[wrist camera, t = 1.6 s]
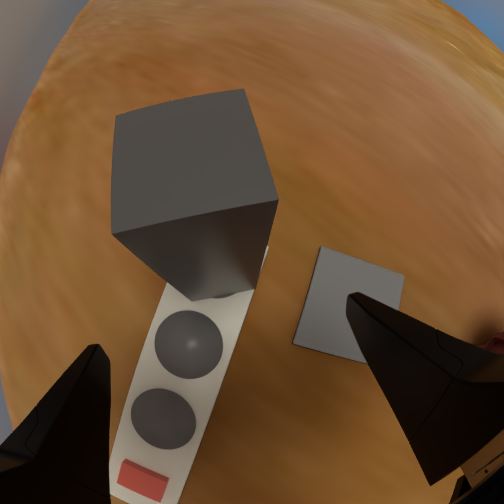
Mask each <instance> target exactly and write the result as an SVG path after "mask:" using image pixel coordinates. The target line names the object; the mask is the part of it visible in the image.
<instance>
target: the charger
mask: <svg viewBox="0 0 504 504" xmlns="http://www.w3.org/2000/svg"><path fill="white" fill-rule="evenodd" d="M278 201H279V198H278V195H277V192H276V188H275V185H274V182H273V178H272V175H271V172H270V168H269V165H268V162H267V158H266V155H265V152H264V149H263V146H262V142H261V139H260V136H259V133H258V130H257V127H256V124H255V121H254V118H253V115H252V111H251V108H250V105H249V102H248V99H247V97H246V94H245V91H244V89H238V90H230V91H223V92H217V93H210V94H204V95H199V96H193V97H188V98H183V99H179V100H174V101H169V102H165V103H161V104H157V105H153V106H149V107H145V108H141V109H137V110H134V111H130V112H127V113H123V114H120V115H117V116H116V120H115V130H114V141H113V156H112V177H111V232H112V235H113V236H114V237H115V238H116V239H118V240H119V241H120V242H121V243H122V244H123V245H124V246H125V247H127V248H128V249H129V250H130V251H131V252H132V253H133V254H135V255H136V256H137V257H138V258H139V259H140V260H141V261H143V262H144V263H145V264H146V265H147V266H149V267H150V268H151V269H152V270H153V271H154V272H156V273H157V274H158V275H159V276H160V277H162V278H163V279H164V280H165V281H167V282H168V283H169V284H170V285H171V286H173V287H174V288H175V289H176V290H178V291H179V292H180V293H181V294H183V295H184V296H185V297H186V298H188V299H189V300H190V301H198V300H203V299H208V298H213V297H218V296H223V295H228V294H233V293H238V292H243V291H248V290H252V289H256V286H257V282H258V278H259V274H260V271H261V267H262V263H263V259H264V255H265V251H266V248H267V244H268V240H269V236H270V232H271V228H272V224H273V221H274V217H275V213H276V209H277V205H278Z"/></svg>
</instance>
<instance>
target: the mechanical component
mask: <svg viewBox="0 0 504 504" xmlns="http://www.w3.org/2000/svg"><path fill="white" fill-rule="evenodd" d="M478 347H480V348H483V349H486V350H488V351H491V352H494V353H499V354H504V332H502V333H497V334H495V335H493V336H492V337H491V338H490V339H489V341H488V342H487V343H486V344H484V345H478Z"/></svg>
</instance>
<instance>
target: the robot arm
mask: <svg viewBox="0 0 504 504" xmlns="http://www.w3.org/2000/svg"><path fill="white" fill-rule="evenodd" d="M346 317H347V320H348V322H349V324H350V327H351V329H352V332H353V334H354V336H355V339H356V341H357V343H358V346H359V348H360V350H361V352H362V354H363V356H364V358H365V360H366V362H367V363H368V365H369V367H370V369H371V371H372V373H373V374H374V376H375V378H376V380H377V382H378V384H379V385H380V387H381V389H382V391H383V393H384V395H385V397H386V398H387V400H388V402H389V404H390V406H391V408H392V410H393V412H394V414H395V416H396V418H397V419H398V421H399V423H400V425H401V427H402V429H403V431H404V433H405V435H406V437H407V439H408V441H409V444H410V446H411V448H412V450H413V452H414V454H415V456H416V458H417V460H418V462H419V464H420V466H421V468H422V470H423V472H424V475H425V477H426V479H427V481H428V483H429V485H430V486H432V485H433V484H435V483H436V482H438V481H440V480H441V479H443V478H444V477H446V476H447V475H449V474H450V473H452V472H453V471H454V470H456V469H457V468H459V467H461V469H462V471H463V473H464V475H463V476H461V477H460V478H458V479H457V482H456V486H455V489H454V491H453V494H452V497H451V500H450V503H449V504H504V354H499V353H494V352H491V351H488V350H486V349H483V348H480V347H478V346H475V345H472V344H470V343H467V342H465V341H462V340H460V339H457V338H455V337H453V336H450V335H448V334H446V333H444V332H442V331H440V330H438V329H436V330H435V328H433V327H431V326H429V325H427V324H425V323H423V322H421V321H419V320H417V319H415V318H413V317H411V316H409V315H406V314H404V313H402V312H400V311H398V310H396V309H394V308H392V307H390V306H388V305H386V304H384V303H381V302H379V301H377V300H375V299H373V298H371V297H369V296H367V295H365V294H362V293H360V292H354V293H351V294H349V295H348V296H347V302H346ZM110 409H111V373H110V360H109V358H108V356H107V355H106V353H105V352H104V350H103V348H102V347H101V346H100V345H99V344H91V345H88V346H87V348H86V349H85V350H84V351H83V352H82V353H81V354H80V355H79V356H78V357H77V359H76V360H75V361H74V362H73V363H72V364H71V365H70V366H69V368H68V369H67V370H66V371H65V372H64V373H63V374H62V376H61V377H60V378H59V379H58V380H57V381H56V382H55V384H54V385H53V386H52V387H51V388H50V389H49V391H48V392H47V393H46V394H45V395H44V397H43V398H42V399H41V400H40V401H39V403H38V404H37V406H35V407H34V409H33V410H32V411H31V412H30V413H29V415H28V416H27V417H26V418H25V419H24V420H23V422H22V423H21V424H20V425H19V426H18V427H17V428H16V429H15V430H14V431H13V432H12V433H11V434H10V436H9V437H8V438H7V439H6V440H5V441H4V442H3V443H2V444H1V445H0V504H111V499H110V480H109V430H110Z"/></svg>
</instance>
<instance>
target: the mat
mask: <svg viewBox="0 0 504 504" xmlns="http://www.w3.org/2000/svg"><path fill="white" fill-rule="evenodd" d="M403 281H404V275H401V274H399V273H396V272H393V271H390V270H388V269H385V268H382V267H379V266H376V265H374V264H371V263H368V262H365V261H362V260H360V259H357V258H354V257H351V256H348V255H345V254H343V253H340V252H337V251H334V250H331V249H328V248H325V247H322V246H321V247H320V250H319V254H318V258H317V261H316V265H315V269H314V272H313V276H312V279H311V283H310V286H309V290H308V293H307V297H306V300H305V304H304V307H303V310H302V314H301V317H300V320H299V323H298V326H297V330H296V333H295V336H294V339H293V342H292V343H293V344H296V345H300V346H303V347H306V348H310V349H313V350H317V351H321V352H324V353H328V354H332V355H335V356H339V357H343V358H347V359H351V360H355V361H359V362H363V363H367V362H366V360H365V358H364V356H363V354H362V352H361V350H360V348H359V346H358V343H357V341H356V339H355V336H354V334H353V332H352V329H351V327H350V324H349V322H348V320H347V317H346V302H347V296H348V295H349V294H351V293H354V292H360V293H362V294H365V295H367V296H369V297H371V298H373V299H375V300H377V301H379V302H381V303H384V304H386V305H388V306H390V307H392V308H394V309H396V310H398V309H399V304H400V299H401V293H402V287H403ZM367 364H368V363H367Z"/></svg>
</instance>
